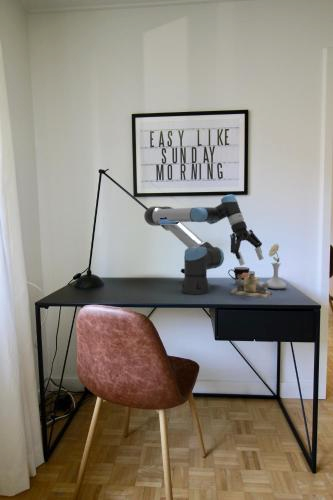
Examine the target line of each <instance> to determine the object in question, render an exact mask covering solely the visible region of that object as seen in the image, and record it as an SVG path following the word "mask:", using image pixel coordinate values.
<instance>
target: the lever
mask: <svg viewBox="0 0 333 500" xmlns="http://www.w3.org/2000/svg"><path fill="white" fill-rule="evenodd" d="M250 274H255V275H256V271H253V270H249V273H243V274H241V278H247V277H249V276H248V275H250Z"/></svg>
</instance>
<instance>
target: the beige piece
mask: <svg viewBox="0 0 333 500" xmlns="http://www.w3.org/2000/svg"><path fill="white" fill-rule="evenodd" d="M255 275H256V273H255V274H250V275H249V276H248V277H247V278H244V280H240V279H236V281H235V280H234V281H235V284H234V285H235V286H236V288H235V289H233V290H231V291H230V294H231V295H238V296H239V295H240V296H247V297H254V298H263V299H268V298H269V297H270V296H271V295H273V294H272V293H273V292H272V291H269V290H268V289H269V288H268V282H267V281H260V277H255Z"/></svg>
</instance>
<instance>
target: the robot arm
mask: <svg viewBox="0 0 333 500" xmlns="http://www.w3.org/2000/svg"><path fill="white" fill-rule="evenodd" d="M147 209H148V210H149V211H150V212H149V211H148V210H147ZM147 209H145V212H144V214H143V216H144V221H145V223H146V224H148V225H149V226H153V227H154V226H155V227H159V226H160V227H162V229H163V230H165V231H167V232H169V231H170V233H172V234H173V235H174V236H175V237H176V238H177V239H178V240H179V241H180V242H181V243H182V244H184V246H186V247H187V248H186V249H185V250H184V255H183V258H184V265H183V267H184V269H185V274H184V278H183V281H182V283H181V289H180V291H181V293H183V294H187V295H205V294H209V293H210V291H211V287H210V284H209V280H208V278H207V276H208V275H207V272H208V270H211V269H213V270H214V269H217V268H220V267H221V266H222V265H223V263H224V261H225V254H224V251H223V249H221V247H218V246H214V245H212V244H211V243H210V242H209V241H203V240H202V239H201V238H200V237H199V236H198V235H197V234H195V233H194V232H193V231H192V230H191V229H190V228H189V227H187V225H185V224H184V223H208V224H209V225H213V224H216V223H218V222H220V221H221V220H224V219H225V218H227V220H228V223H229V226H230V228H231V231H232V233H231V234H230V235H229V237H230V253H231V254H233V255H235V258H236V259H237V261H238V264H239V265H240V266H239V267H242V266H243V265H245V264H246V262H245V261H244V259H243V258H244V257H243V255H242V252H241V251H240V247H241V243H242V242H244V241H245V242H248V243H250V244H251V245H252V246H253V247H254V250H255V254H256V256H257V258H258V261H261V260H264V256H263V251H262V249H261V247H262V245H263V242H261V241H260V239H259V238H258V237H257V236H256V234H255V233H254V231H253V229H249V230H248V229H247V228H248V227H247V223H246V221H245V218H244V217H243V214H242V213H243V212H242V211H241V209H240V205H239V203H238V200H237V198H236V196H235V194H227V195H225V196H222V198H221V199H220V204H219V205H216V206H214V207H212V206H211V207H208V206H206V207H203V206H197V207H196V206H195V207H181V208H179V207H178V208H175V207H172V206H166V205H165V206H150V207H149V208H147ZM165 217H166V218H167V220H168V221H170V222H179V223H178V224H174V225H160V221H159V220H160V218H165Z"/></svg>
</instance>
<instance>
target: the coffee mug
mask: <svg viewBox="0 0 333 500" xmlns="http://www.w3.org/2000/svg"><path fill="white" fill-rule="evenodd" d="M230 271H232V272H233V273H234V276H232V275H231V274H230ZM249 271H250V267H248V266H247V267H246V266H236V267H234V269H233V268H231V269H229V270H228V273H227V274H228V275H229V276H230V278H232V279H233V280H234V281H236V279H240V280H244V278H241V274H243V273H249ZM248 277H249V275H248Z"/></svg>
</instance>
